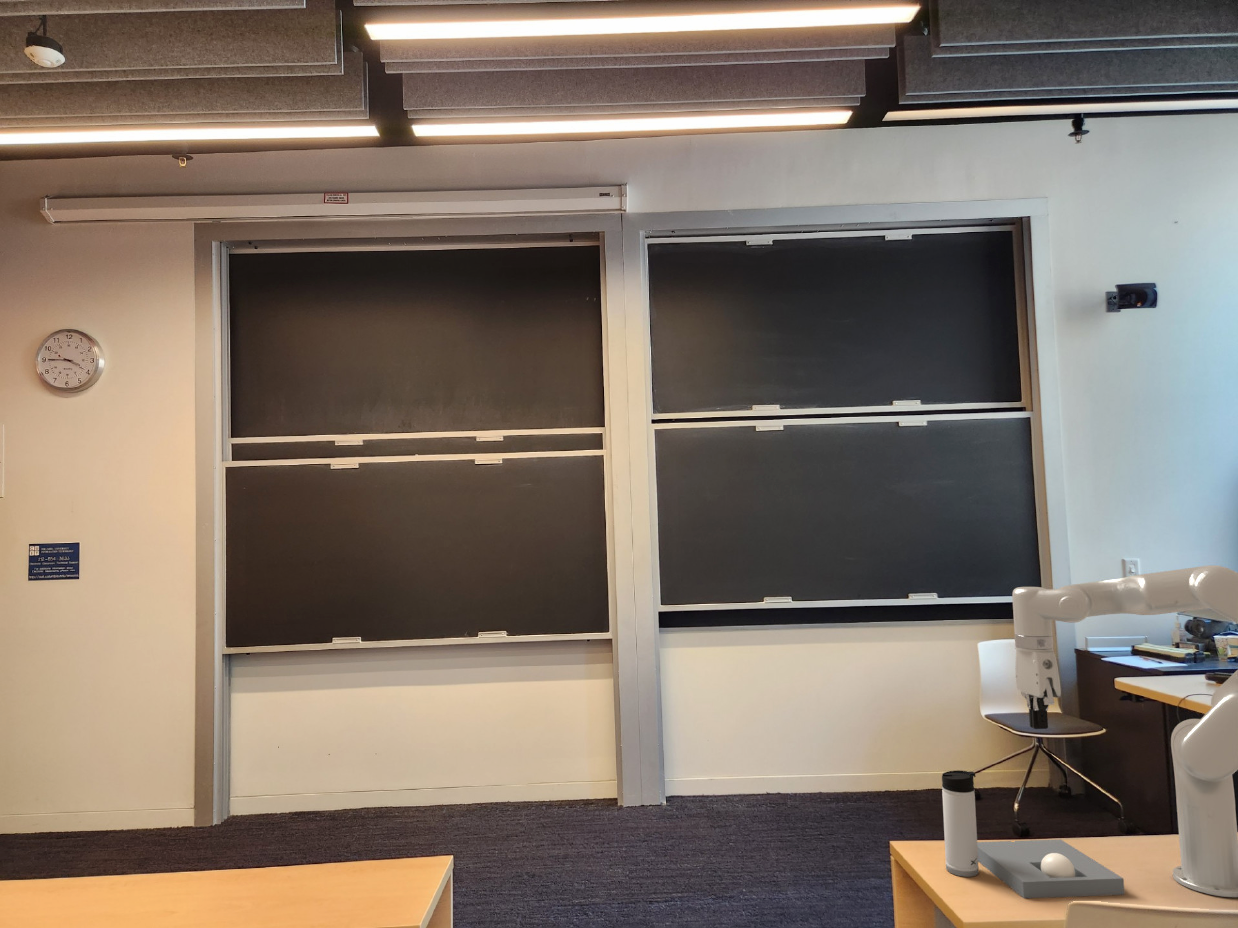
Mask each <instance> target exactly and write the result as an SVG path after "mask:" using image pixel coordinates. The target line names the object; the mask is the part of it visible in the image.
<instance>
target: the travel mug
mask: <svg viewBox="0 0 1238 928" xmlns="http://www.w3.org/2000/svg"><path fill="white" fill-rule="evenodd" d="M974 778H976V773H975V772H974V770H973V771H972V770H971V771H968V770H959V769H958V770H948V771H946V772H943V773H942V774H941V782H942V783H941V789H942V790H941V791H942V793H941V795H942V813H943V831H944V832H943V833H944V851H945V852H944V853H945V854H944V855H945V856H944V857H945V869H946V871H948V872H949V873H950V874H952V875H955V876H958V877H963V878H971V877H975V876H977V875H979V874H980V873H979V862H978V848H977V842H978V833H977V832H978V831H977V830H978V829H977V816H976V815H977V813H976V810H977V809H976V796H975V795H976V794H975V785H974V784H975V782H974V781H975V780H974Z"/></svg>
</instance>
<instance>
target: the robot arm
mask: <svg viewBox="0 0 1238 928" xmlns="http://www.w3.org/2000/svg"><path fill="white" fill-rule="evenodd" d="M1209 609H1211V610H1212V611H1214V612H1215V613H1217V614H1219V615H1221V616H1223V617H1224V618H1226V619H1228V620H1230V621H1232V622H1234V624H1237V625H1238V572H1237V571H1235V570H1233V569H1231V568H1229V567H1224V566H1221V565H1214V564H1213V565H1211V564H1210V565H1201V566H1196V567H1194V566H1193V567H1188V568H1180V569H1173V570H1171V569H1170V570H1165V571H1157V572H1150V573H1142V574H1135V575H1129V576H1126V577H1120V578H1114V579H1106V580H1098V581H1091V582H1083V583H1076V584H1068V585H1064V586H1061V587H1060V588H1052V589H1051V588H1050V589H1047V588H1044V587H1041V586H1040V587H1039V586H1020V587H1015V588H1014V589H1013V590H1012V610H1013V611H1012V612H1013V628H1014V646H1015V647H1014V649H1015V651H1016V652H1015V684H1016V688H1017V690H1019V691H1020V694H1021V696H1022V697H1023V698H1024V699H1025V700H1026V706H1027V708H1028V716H1029V727H1030V728H1032V729H1035V730H1044V729H1045V730H1046V729H1048V728H1049V722H1048V711H1049V706H1052V705H1055V701H1054V700H1055V699H1054V698H1058V699H1059V698H1060V697H1061V695H1062V693H1061V692H1062V689H1061V681H1060V680H1061V679H1060V673H1059V666H1058V661H1057V657H1056V653H1055V651H1054V639H1053V638H1054V637H1053V621H1056V622H1061V623H1073V624H1074V623H1079V622H1080V623H1081V622H1082V621H1084V620H1085V619H1086V618H1089V617H1098V616H1106V615H1120V614H1121V615H1122V614H1123V615H1124V614H1125V615H1127V614H1128V615H1129V614H1130V615H1136V616H1137V615H1139V616H1157V615H1165V614H1173V613H1180V612H1182V613H1183V612H1190V611H1191V612H1192V611H1199V610H1200V611H1201V610H1209ZM1210 706H1211V708H1210V709H1209V710H1207V712H1206V713H1205V714H1204V715H1203V716H1202V717H1201V718H1189V719H1186V720H1183V721H1181V722H1179V723H1178V724H1177V725H1176V726H1175V727H1174V729H1173V730H1172V732H1171V736H1170V747H1171V756H1172V763H1173V765H1172V766H1173V772H1174V785H1175V797H1176V812H1177V828H1178V839H1179V850H1180V852H1179V853H1180V863H1181V864H1180V865H1179V866H1176V867H1173V869H1172V877H1173V879H1174V880H1175V881H1176V882H1177V883H1178V884H1180V885H1182V886H1183V887H1186V888H1189V889H1191V890H1193V891H1196V892H1199V893H1202V894H1203V893H1204V894H1207V895H1211V896H1216V897H1223V898H1238V825H1237V814H1236V798H1235V788H1234V779H1233V775H1234V774H1235V772H1238V669H1237V670H1236V671H1234V673H1232V674H1231V676H1230V677H1228V679H1226V680H1225V681H1224V682H1223V683H1222V684H1221V685H1220V686H1218V687H1217V688H1216V689H1215V690H1214V692H1213V693H1212V695H1211V699H1210Z"/></svg>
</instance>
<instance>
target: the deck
mask: <svg viewBox="0 0 1238 928" xmlns="http://www.w3.org/2000/svg"><path fill="white" fill-rule="evenodd" d="M1011 841H1012V840H1010V841H1009V840H1004V841H1002V840H1001V841H977V848H978V863H979V864H980V865H982V866H983V867H984V866H985V867H984V868H986V869H987V870H988V871H990V872H991V873H992V874H993V875H995V876H996V878H998V879H999V880H1001V881H1002V882H1003V883H1004V884H1005V885H1007V886H1008V888H1010V889H1012V890H1013V891H1014V892H1015V893H1017V894H1018V895H1019V896H1021V897H1022V898H1023V899H1037V898H1039V899H1041V898H1043V899H1044V898H1045V899H1046V898H1066V897H1068V898H1070V897H1092V896H1095V897H1097V896H1124V895H1125V882H1124V878H1123V877H1122V876H1120V875H1119V874H1117V873H1115V872H1113V870H1111V869H1109V868H1107V867H1106V866H1104V865H1103V864H1101V863H1099V862H1098V861H1096V860H1094V858H1091V857H1090V856H1088V855H1086V854H1085V853H1084V852H1082V851H1080V850H1078V849H1077V848H1076V847H1073V846H1072V845H1070V844H1069V843H1067V842H1066V841H1064V840H1062V839H1060V838H1059V839H1038V840H1037V839H1036V840H1035V839H1034V840H1032V839H1031V840H1030V839H1029V840H1014V841H1015V842H1011ZM1050 853H1058V854H1061V855H1063V856H1065V857H1066V858H1068V859H1069V860H1070V861H1071V863H1072V864H1073V866H1074V869H1075V877H1065V878H1050V877H1049V876H1047V875H1046V874H1044V873H1043V872H1042V871H1041V862H1042V859H1043V858H1044V857H1045V856H1046V855H1048V854H1050Z"/></svg>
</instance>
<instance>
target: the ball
mask: <svg viewBox="0 0 1238 928" xmlns="http://www.w3.org/2000/svg"><path fill="white" fill-rule="evenodd" d="M1041 871H1042V872H1043V873H1044V874H1046V875H1047V876H1049V877H1050V878H1065V877H1075V869H1074V866H1073V864H1072V863H1071V861H1070V860H1069V859H1068V858H1066V857H1065V856H1063V855H1061V854H1058V853H1050V854H1048V855H1046V856H1045V857H1044V858H1043V859H1042V862H1041Z"/></svg>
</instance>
